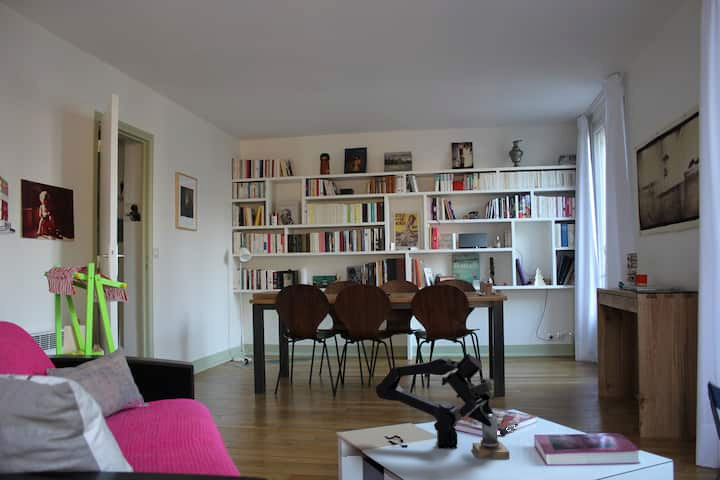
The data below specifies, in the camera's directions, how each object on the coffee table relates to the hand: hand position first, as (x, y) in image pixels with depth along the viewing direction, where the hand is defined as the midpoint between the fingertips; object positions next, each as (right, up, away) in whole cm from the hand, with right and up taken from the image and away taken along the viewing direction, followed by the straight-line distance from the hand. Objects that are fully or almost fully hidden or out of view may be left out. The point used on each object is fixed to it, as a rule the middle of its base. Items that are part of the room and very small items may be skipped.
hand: (493, 423), depth 186 cm
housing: (-1, -7, 0) cm, 7 cm away
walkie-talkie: (+11, -12, +28) cm, 32 cm away
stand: (-1, -10, 0) cm, 10 cm away
